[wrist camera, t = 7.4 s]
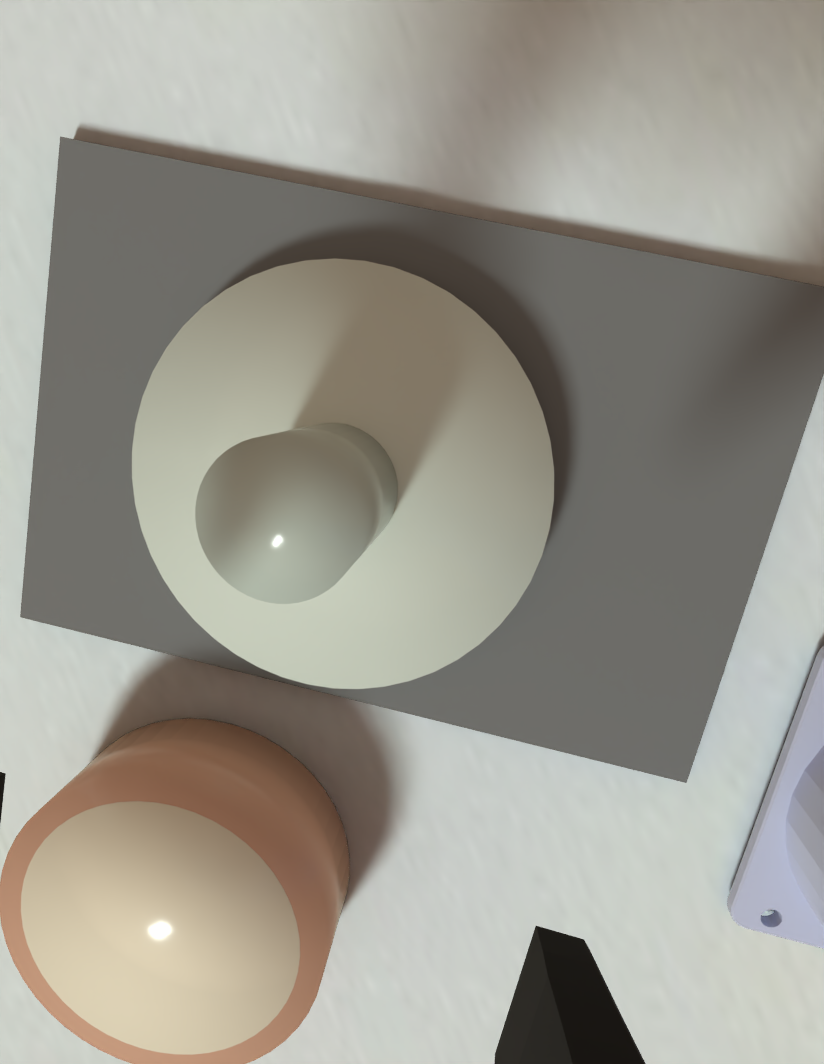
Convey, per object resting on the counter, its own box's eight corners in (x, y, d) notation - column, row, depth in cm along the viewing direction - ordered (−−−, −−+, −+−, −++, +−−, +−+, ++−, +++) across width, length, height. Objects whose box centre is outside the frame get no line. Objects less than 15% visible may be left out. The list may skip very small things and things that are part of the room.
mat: (841, 294, 15) (850, 292, 15) (682, 774, 18) (686, 782, 17) (70, 143, 16) (60, 136, 16) (30, 612, 19) (20, 616, 19)
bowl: (375, 760, 19) (353, 830, 16) (321, 1008, 20) (292, 1112, 18) (85, 686, 19) (11, 740, 16) (57, 934, 21) (-13, 1022, 18)
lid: (615, 337, 15) (661, 317, 10) (475, 727, 18) (462, 853, 13) (194, 211, 16) (62, 140, 11) (116, 603, 18) (-20, 678, 14)
